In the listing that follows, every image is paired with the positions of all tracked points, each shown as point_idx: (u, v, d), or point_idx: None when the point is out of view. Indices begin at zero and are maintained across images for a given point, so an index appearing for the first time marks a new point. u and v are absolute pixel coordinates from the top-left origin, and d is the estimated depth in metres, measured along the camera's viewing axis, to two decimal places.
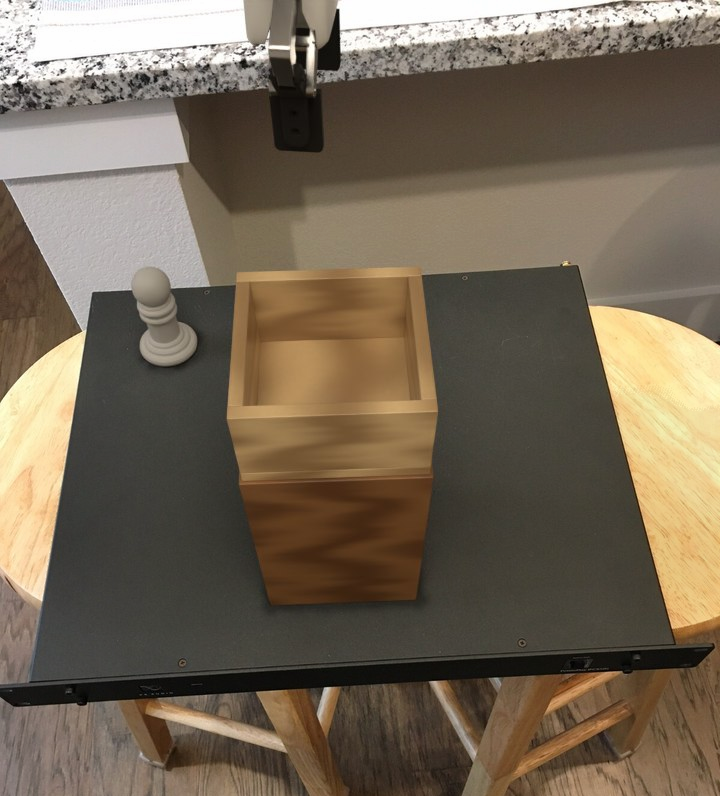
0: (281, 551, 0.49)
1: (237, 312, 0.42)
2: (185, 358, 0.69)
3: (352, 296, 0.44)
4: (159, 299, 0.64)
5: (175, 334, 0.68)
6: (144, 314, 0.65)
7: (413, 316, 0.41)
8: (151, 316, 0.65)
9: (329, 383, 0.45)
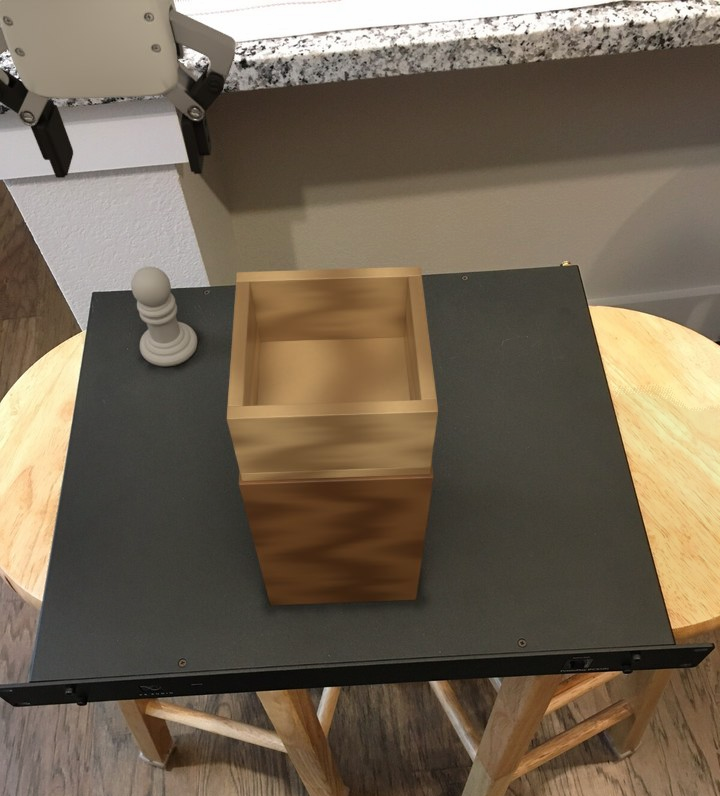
0: (281, 551, 0.49)
1: (237, 312, 0.42)
2: (185, 358, 0.69)
3: (352, 296, 0.44)
4: (159, 299, 0.64)
5: (175, 334, 0.68)
6: (144, 314, 0.65)
7: (413, 316, 0.41)
8: (151, 316, 0.65)
9: (329, 383, 0.45)
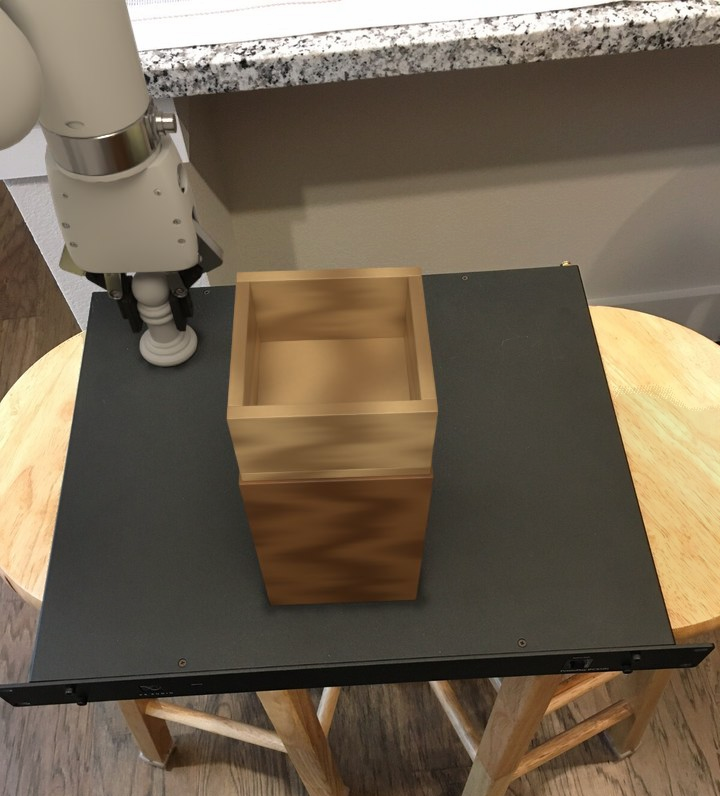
0: (281, 551, 0.49)
1: (237, 312, 0.42)
2: (185, 358, 0.69)
3: (352, 296, 0.44)
4: (160, 299, 0.64)
5: (175, 334, 0.68)
6: (144, 314, 0.65)
7: (413, 316, 0.41)
8: (151, 316, 0.65)
9: (329, 383, 0.45)
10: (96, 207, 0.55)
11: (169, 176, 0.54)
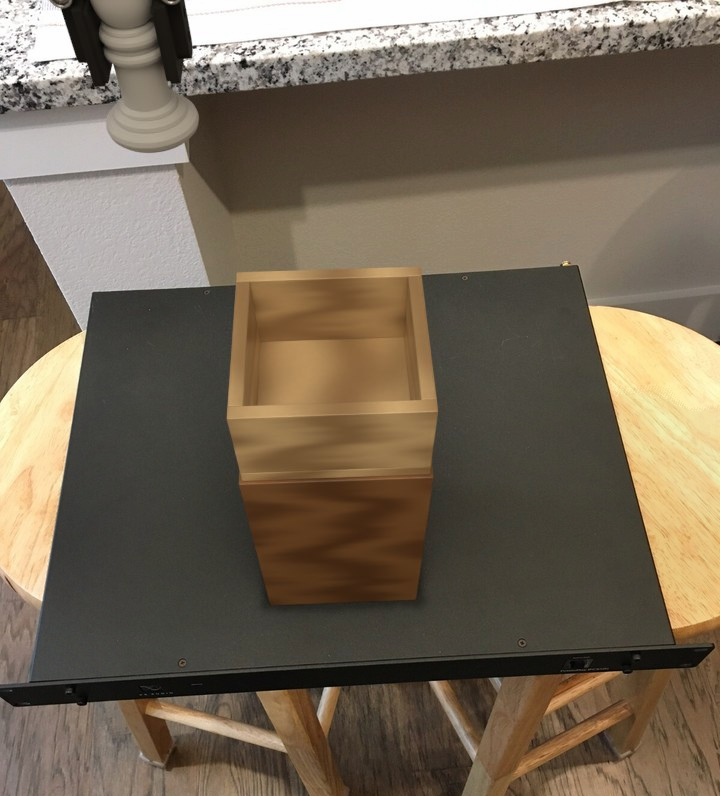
0: (281, 551, 0.49)
1: (237, 312, 0.42)
2: (180, 139, 0.43)
3: (352, 296, 0.44)
4: (136, 9, 0.38)
5: (163, 96, 0.42)
6: (111, 44, 0.39)
7: (413, 316, 0.41)
8: (123, 46, 0.39)
9: (329, 383, 0.45)
10: None
11: None
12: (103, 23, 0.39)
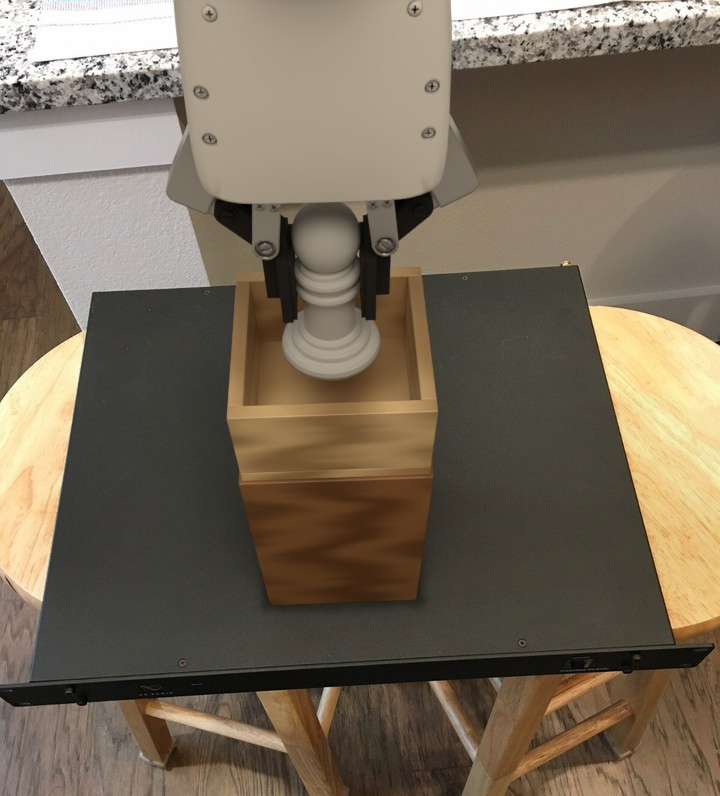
0: (281, 551, 0.49)
1: (237, 312, 0.42)
2: (364, 366, 0.40)
3: None
4: (345, 259, 0.35)
5: (351, 325, 0.39)
6: (310, 287, 0.36)
7: (413, 316, 0.41)
8: (323, 291, 0.36)
9: (329, 383, 0.45)
10: (274, 45, 0.25)
11: None
12: (301, 264, 0.36)
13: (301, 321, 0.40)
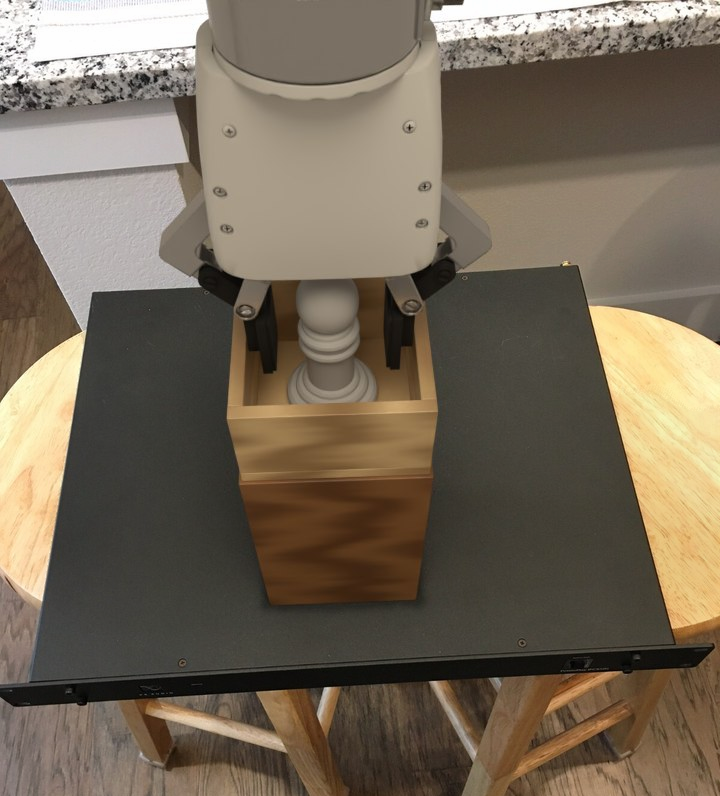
0: (281, 551, 0.49)
1: None
2: None
3: None
4: (344, 323, 0.38)
5: (350, 376, 0.42)
6: (313, 346, 0.39)
7: None
8: (325, 350, 0.39)
9: None
10: (286, 156, 0.29)
11: (434, 95, 0.28)
12: (305, 325, 0.39)
13: (304, 372, 0.43)
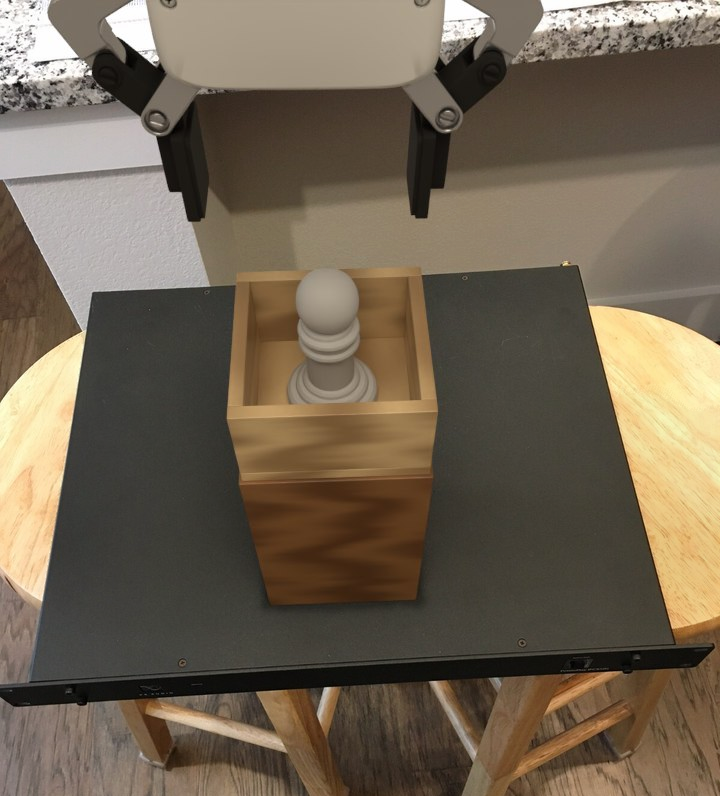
0: (281, 551, 0.49)
1: (237, 312, 0.42)
2: None
3: None
4: (344, 323, 0.38)
5: (350, 376, 0.42)
6: (313, 346, 0.39)
7: (413, 316, 0.41)
8: (325, 350, 0.39)
9: None
10: None
11: None
12: (305, 325, 0.39)
13: (304, 372, 0.43)
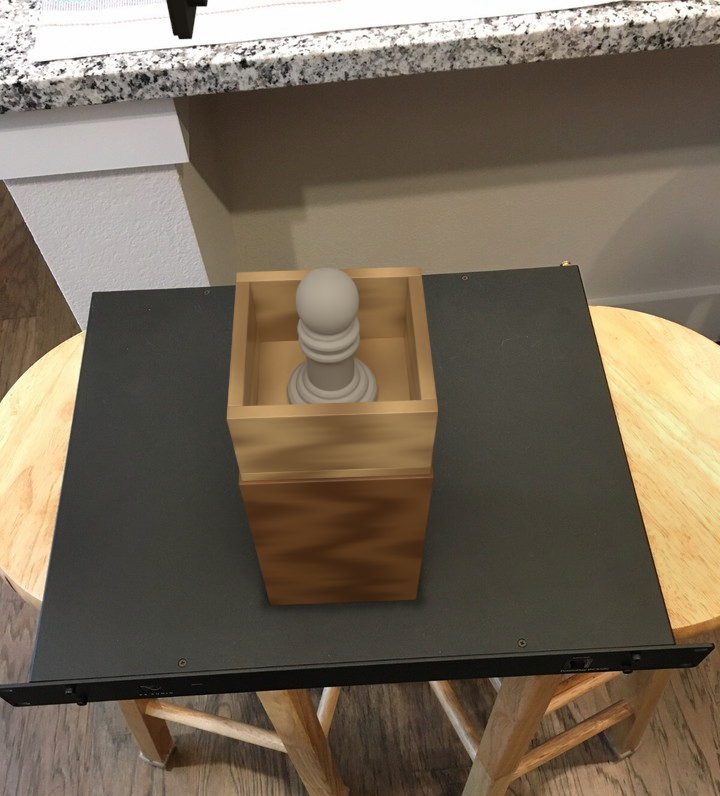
0: (281, 551, 0.49)
1: (237, 312, 0.42)
2: None
3: None
4: (344, 322, 0.38)
5: (350, 376, 0.42)
6: (313, 346, 0.39)
7: (413, 316, 0.41)
8: (325, 350, 0.39)
9: None
10: None
11: None
12: (305, 325, 0.39)
13: (304, 372, 0.43)
